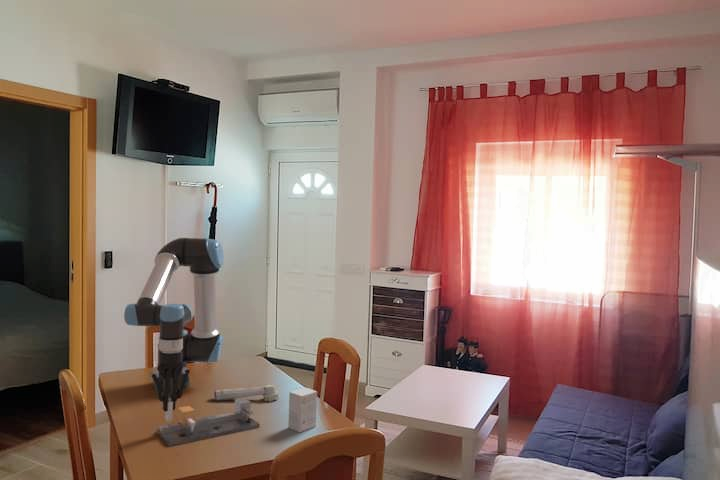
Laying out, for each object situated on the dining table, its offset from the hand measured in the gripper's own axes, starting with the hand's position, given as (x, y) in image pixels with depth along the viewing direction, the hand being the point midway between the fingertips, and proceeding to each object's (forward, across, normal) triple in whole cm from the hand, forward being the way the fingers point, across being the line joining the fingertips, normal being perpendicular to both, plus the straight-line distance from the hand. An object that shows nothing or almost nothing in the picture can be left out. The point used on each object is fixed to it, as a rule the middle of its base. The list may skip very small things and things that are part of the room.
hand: (168, 419), depth 188 cm
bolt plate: (+5, +13, -4) cm, 14 cm away
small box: (+5, +42, -17) cm, 46 cm away
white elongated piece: (+5, +37, +19) cm, 42 cm away
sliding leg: (+3, +6, -2) cm, 7 cm away
